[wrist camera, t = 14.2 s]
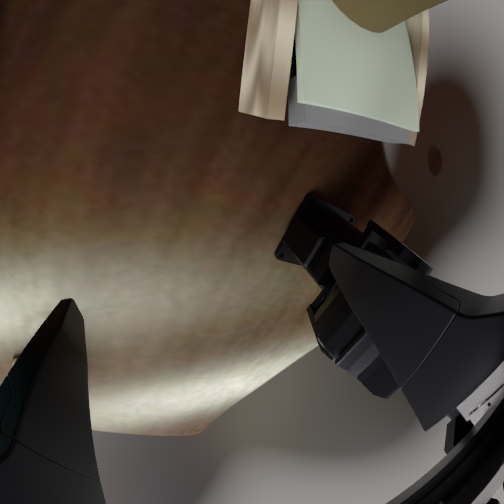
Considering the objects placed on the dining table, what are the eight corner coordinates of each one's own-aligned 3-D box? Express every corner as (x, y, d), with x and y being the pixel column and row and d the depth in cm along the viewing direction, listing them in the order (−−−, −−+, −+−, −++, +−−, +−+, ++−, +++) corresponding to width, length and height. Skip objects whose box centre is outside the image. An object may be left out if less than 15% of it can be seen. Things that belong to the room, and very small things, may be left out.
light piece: (394, 144, 18) (428, 145, 15) (281, 125, 14) (312, 116, 11) (376, -4, 13) (402, -15, 10) (274, -45, 10) (296, -68, 7)
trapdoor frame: (373, 131, 21) (414, 146, 17) (238, 111, 17) (266, 118, 13) (387, -13, 13) (428, -18, 9) (260, -65, 8) (291, -92, 4)
